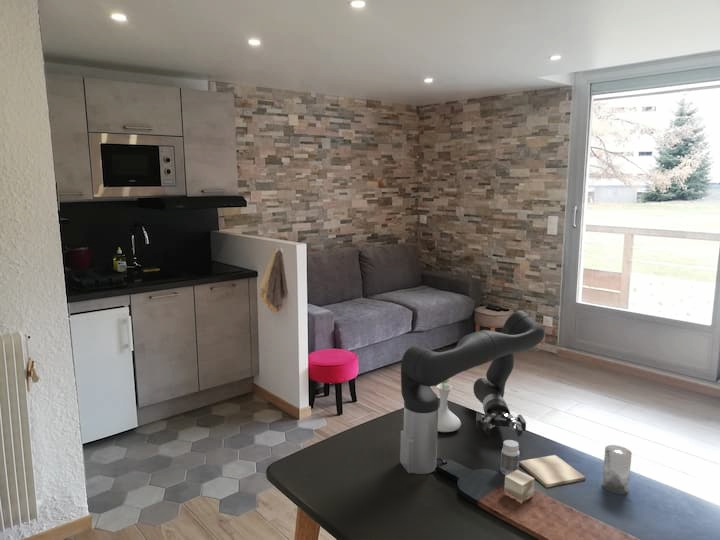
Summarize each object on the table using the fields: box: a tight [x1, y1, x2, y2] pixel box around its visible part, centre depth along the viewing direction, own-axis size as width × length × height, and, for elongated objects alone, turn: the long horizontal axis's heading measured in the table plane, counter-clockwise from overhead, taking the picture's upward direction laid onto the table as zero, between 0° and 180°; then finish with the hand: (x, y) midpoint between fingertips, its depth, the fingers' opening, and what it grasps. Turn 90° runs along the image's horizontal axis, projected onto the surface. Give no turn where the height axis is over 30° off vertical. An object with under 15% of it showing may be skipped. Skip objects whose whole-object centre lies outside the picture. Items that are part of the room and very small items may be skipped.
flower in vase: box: [434, 378, 462, 433], centre depth 161 cm, size 13×11×25 cm
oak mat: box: [519, 454, 586, 488], centre depth 138 cm, size 12×12×1 cm
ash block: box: [503, 469, 536, 501], centre depth 127 cm, size 5×5×5 cm
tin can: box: [601, 444, 632, 495], centre depth 130 cm, size 6×6×10 cm
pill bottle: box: [500, 439, 521, 476], centre depth 137 cm, size 5×5×8 cm
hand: (504, 432), depth 148 cm, fingers open, 8 cm apart
